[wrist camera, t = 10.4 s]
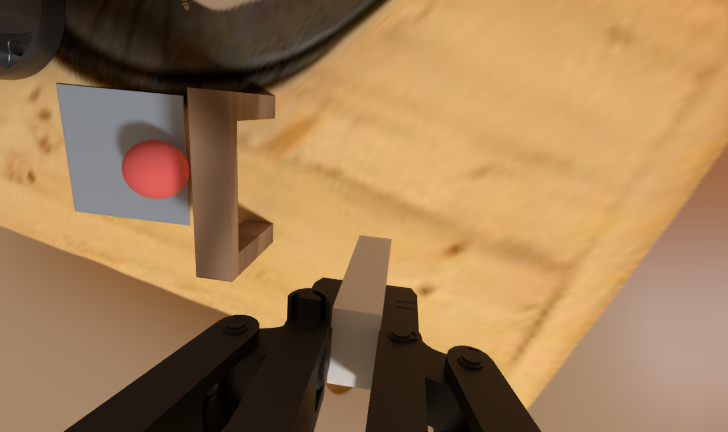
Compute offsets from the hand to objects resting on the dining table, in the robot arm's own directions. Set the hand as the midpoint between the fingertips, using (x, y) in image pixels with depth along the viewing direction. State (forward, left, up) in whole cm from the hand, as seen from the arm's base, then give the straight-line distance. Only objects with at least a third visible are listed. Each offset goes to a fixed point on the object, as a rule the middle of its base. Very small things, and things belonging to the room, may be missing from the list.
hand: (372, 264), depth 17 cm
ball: (-22, 0, -16) cm, 27 cm away
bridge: (-13, 0, -18) cm, 23 cm away
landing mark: (-27, 0, -18) cm, 33 cm away
